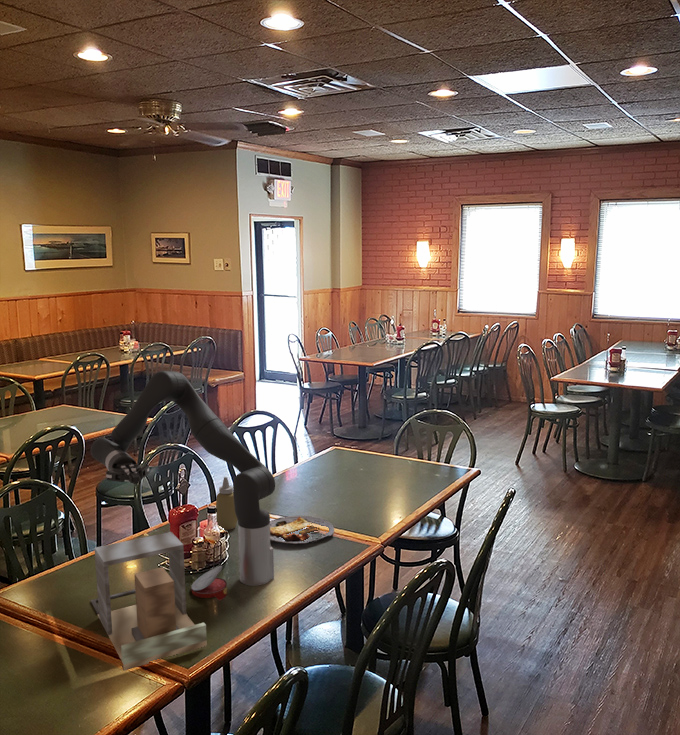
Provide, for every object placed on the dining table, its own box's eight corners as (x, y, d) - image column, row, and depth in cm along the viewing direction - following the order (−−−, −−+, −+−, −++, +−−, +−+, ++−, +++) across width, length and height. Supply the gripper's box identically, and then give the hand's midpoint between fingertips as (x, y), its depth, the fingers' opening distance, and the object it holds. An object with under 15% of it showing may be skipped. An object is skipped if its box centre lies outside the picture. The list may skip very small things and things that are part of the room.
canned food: (214, 618, 198) (203, 596, 192) (189, 604, 203) (177, 582, 198) (240, 587, 204) (230, 565, 199) (215, 575, 210) (204, 552, 204)
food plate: (286, 554, 227) (286, 543, 227) (247, 533, 245) (246, 523, 245) (346, 536, 243) (347, 526, 243) (305, 517, 261) (305, 508, 261)
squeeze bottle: (242, 523, 253) (241, 474, 250) (233, 532, 246) (231, 482, 243) (221, 521, 255) (219, 473, 252) (211, 530, 248) (209, 480, 245)
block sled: (171, 623, 183) (168, 565, 180) (182, 639, 175) (179, 579, 173) (131, 633, 178) (128, 575, 175) (141, 651, 170) (138, 589, 168)
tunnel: (163, 589, 205) (160, 519, 202) (206, 646, 175) (203, 566, 172) (91, 607, 195) (86, 534, 192) (124, 670, 165) (118, 586, 162)
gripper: (97, 456, 211) (111, 471, 197) (142, 449, 218) (158, 463, 203) (98, 480, 213) (112, 497, 198) (143, 473, 219) (160, 489, 205)
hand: (136, 480), depth 201 cm, fingers closed
